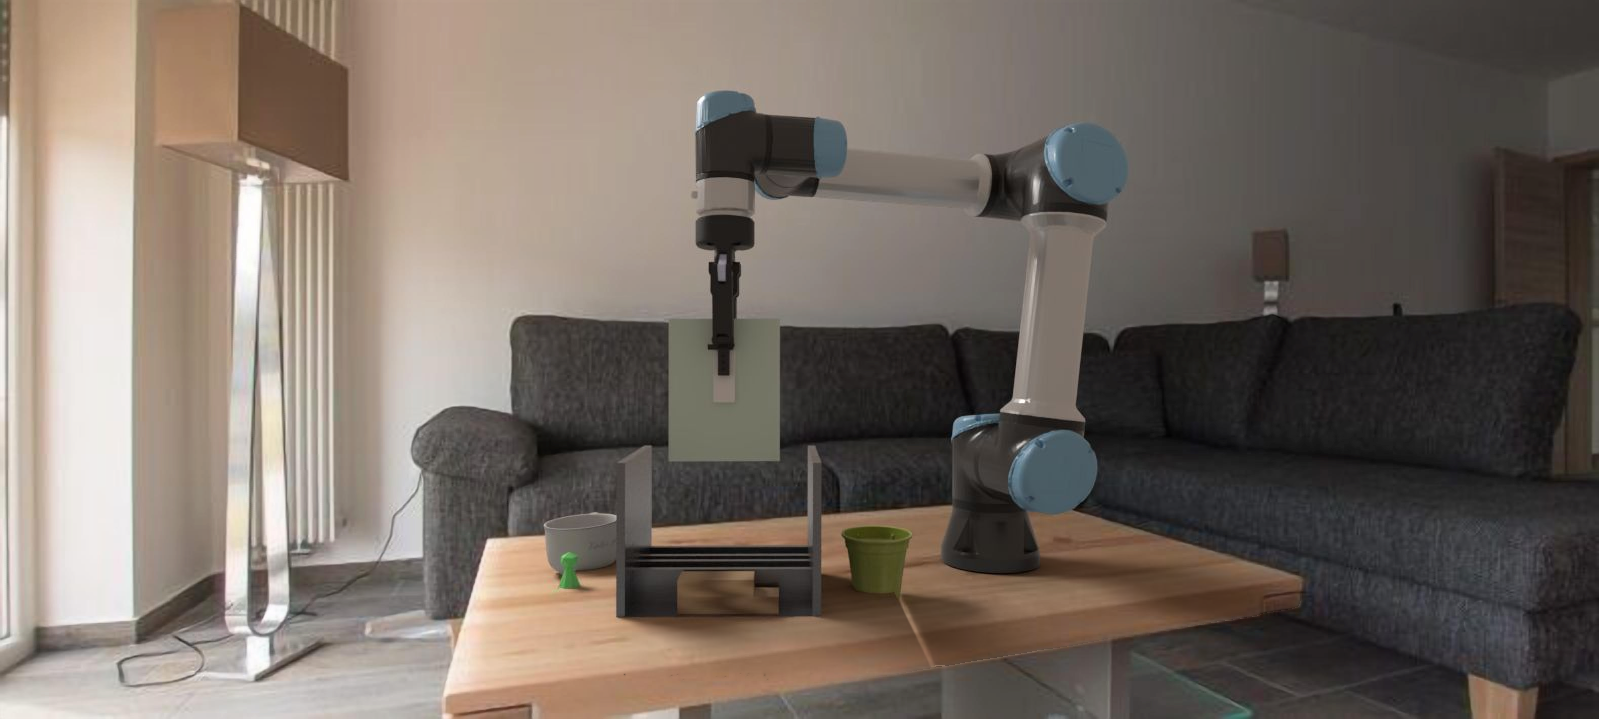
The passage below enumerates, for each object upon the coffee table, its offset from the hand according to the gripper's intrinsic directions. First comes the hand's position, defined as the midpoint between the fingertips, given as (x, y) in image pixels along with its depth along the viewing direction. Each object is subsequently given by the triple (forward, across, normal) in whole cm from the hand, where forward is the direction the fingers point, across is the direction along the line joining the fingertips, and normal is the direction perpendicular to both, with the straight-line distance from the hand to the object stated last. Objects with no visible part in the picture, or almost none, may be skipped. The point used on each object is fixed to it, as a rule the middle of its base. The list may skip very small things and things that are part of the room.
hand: (725, 401), depth 104 cm
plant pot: (+27, -4, +20) cm, 33 cm away
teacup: (+27, -19, -22) cm, 39 cm away
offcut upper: (+23, +6, -1) cm, 23 cm away
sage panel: (+8, 0, 0) cm, 8 cm away
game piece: (+27, -5, -21) cm, 34 cm away
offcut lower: (+25, +6, +1) cm, 25 cm away
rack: (+26, -1, 0) cm, 26 cm away
